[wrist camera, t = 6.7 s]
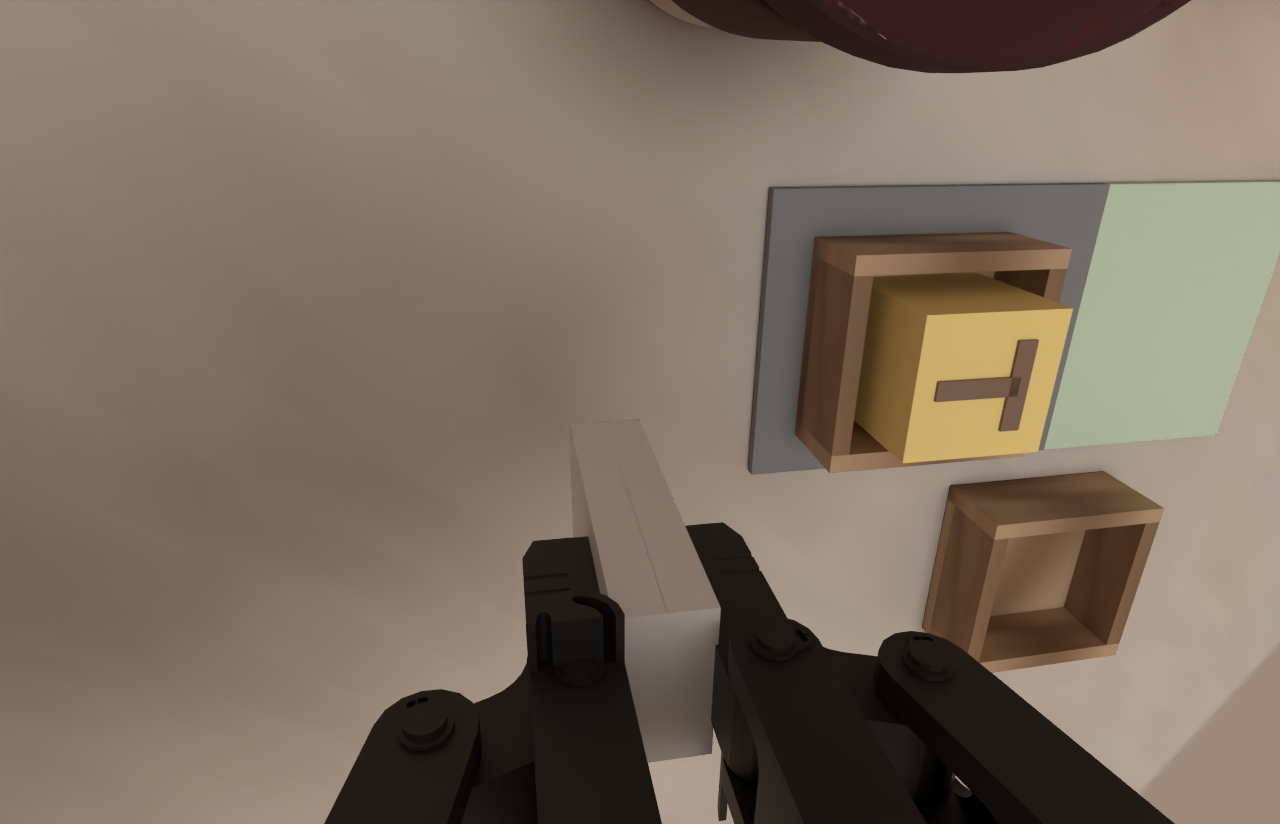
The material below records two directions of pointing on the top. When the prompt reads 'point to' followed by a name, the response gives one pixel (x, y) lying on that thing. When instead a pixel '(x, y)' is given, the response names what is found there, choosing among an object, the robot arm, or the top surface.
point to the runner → (1094, 287)
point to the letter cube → (958, 366)
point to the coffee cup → (936, 28)
